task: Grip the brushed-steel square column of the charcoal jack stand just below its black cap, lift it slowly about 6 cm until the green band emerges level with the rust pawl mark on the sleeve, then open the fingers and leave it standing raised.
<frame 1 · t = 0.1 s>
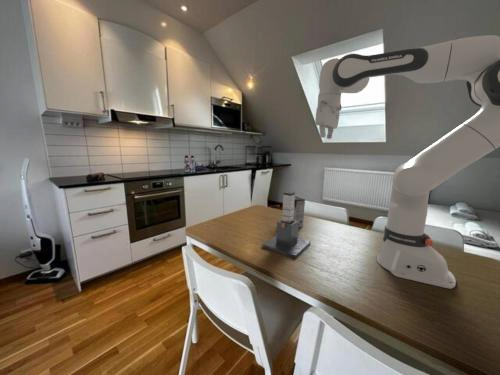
hand: (326, 138, 87), 48 cm above the table, fingers open, 8 cm apart
column: (288, 217, 90), point 13 cm above the table, slide at 0.0 cm
stand base: (286, 245, 93), on the table
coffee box: (294, 225, 119), on the table
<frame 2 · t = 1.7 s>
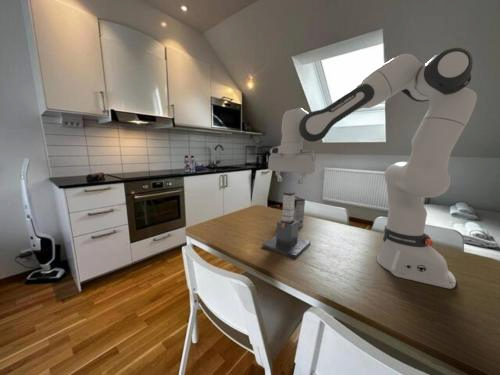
hand: (289, 182, 87), 29 cm above the table, fingers open, 8 cm apart
nothing on the table moved.
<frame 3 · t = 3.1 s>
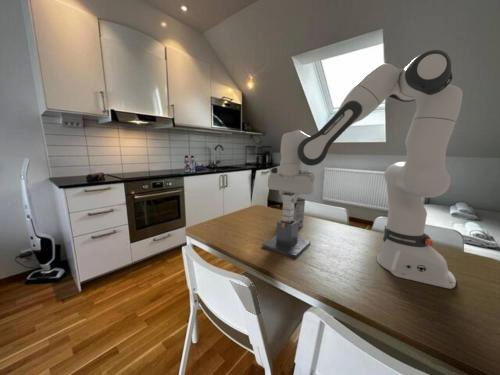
hand: (288, 201, 89), 21 cm above the table, fingers closed on column, 4 cm apart
column: (288, 217, 90), point 13 cm above the table, slide at 0.0 cm, touching gripper
everything else where it was.
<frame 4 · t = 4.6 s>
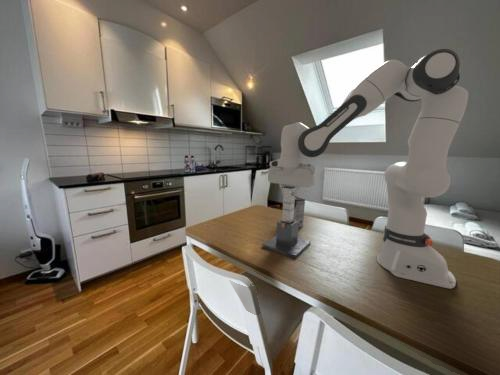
hand: (289, 195, 88), 24 cm above the table, fingers closed on column, 4 cm apart
column: (288, 211, 90), point 16 cm above the table, slide at 2.9 cm, touching gripper
everything else where it was.
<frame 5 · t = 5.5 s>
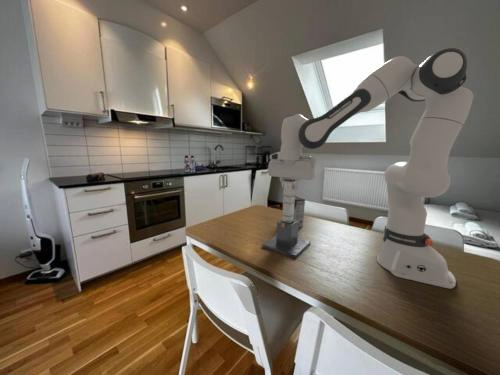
hand: (289, 188, 88), 27 cm above the table, fingers closed on column, 4 cm apart
column: (288, 205, 89), point 19 cm above the table, slide at 5.9 cm, touching gripper
everything else where it was.
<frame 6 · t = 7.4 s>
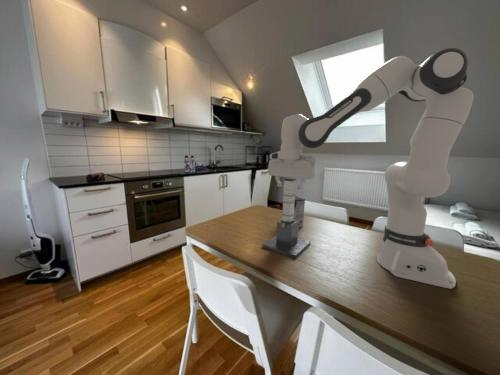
hand: (289, 187, 88), 27 cm above the table, fingers open, 8 cm apart
column: (288, 204, 89), point 19 cm above the table, slide at 6.1 cm
everything else where it was.
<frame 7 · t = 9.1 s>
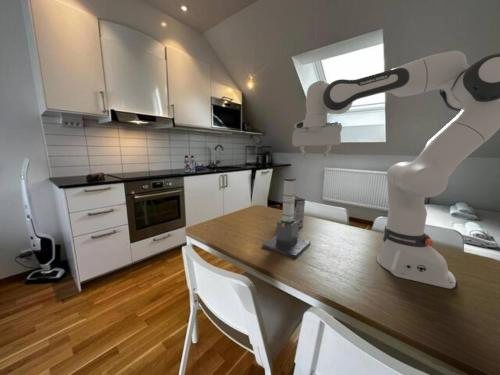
hand: (314, 156, 89), 40 cm above the table, fingers open, 8 cm apart
nothing on the table moved.
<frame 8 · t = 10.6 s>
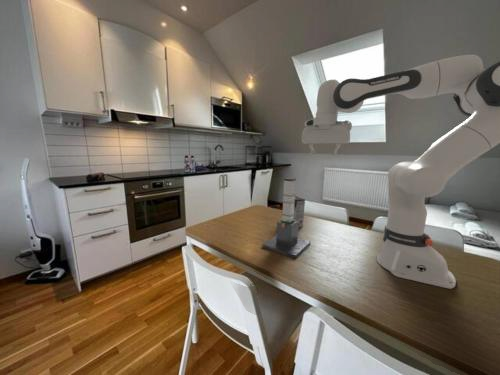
hand: (323, 154, 91), 41 cm above the table, fingers open, 8 cm apart
nothing on the table moved.
at the end: column slide at 6.1 cm; the gripper is holding nothing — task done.
